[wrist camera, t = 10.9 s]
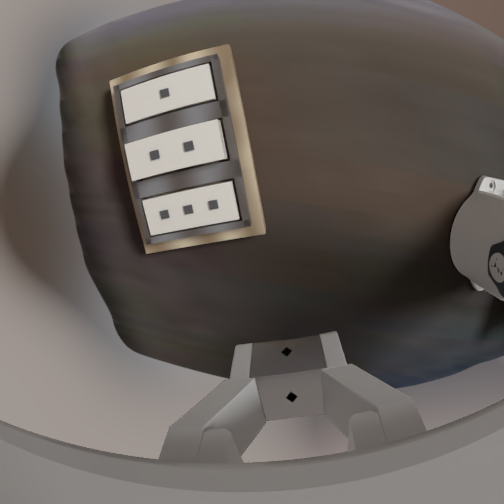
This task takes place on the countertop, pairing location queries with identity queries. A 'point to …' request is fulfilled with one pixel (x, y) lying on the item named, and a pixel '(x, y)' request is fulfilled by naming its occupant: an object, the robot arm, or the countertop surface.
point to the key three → (192, 207)
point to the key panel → (232, 168)
